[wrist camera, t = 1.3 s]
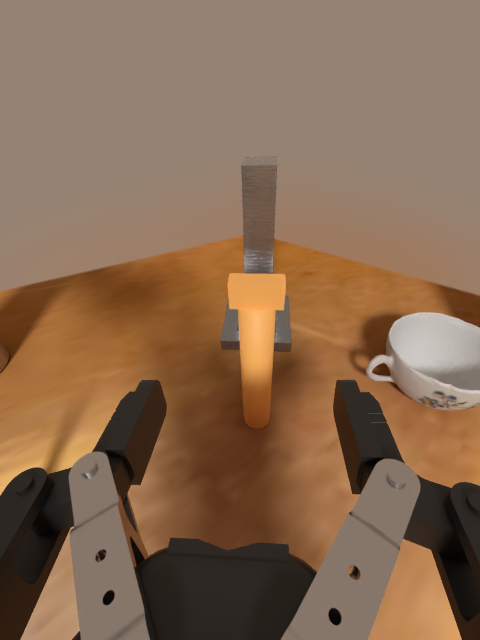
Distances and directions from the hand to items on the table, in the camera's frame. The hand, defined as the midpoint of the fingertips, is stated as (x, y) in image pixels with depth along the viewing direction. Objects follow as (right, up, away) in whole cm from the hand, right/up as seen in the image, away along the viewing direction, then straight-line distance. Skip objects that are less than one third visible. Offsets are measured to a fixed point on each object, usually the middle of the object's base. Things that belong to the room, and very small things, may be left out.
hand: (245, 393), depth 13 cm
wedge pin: (+2, -9, +22) cm, 24 cm away
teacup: (+23, -6, +25) cm, 34 cm away
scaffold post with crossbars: (+3, +5, +38) cm, 39 cm away
